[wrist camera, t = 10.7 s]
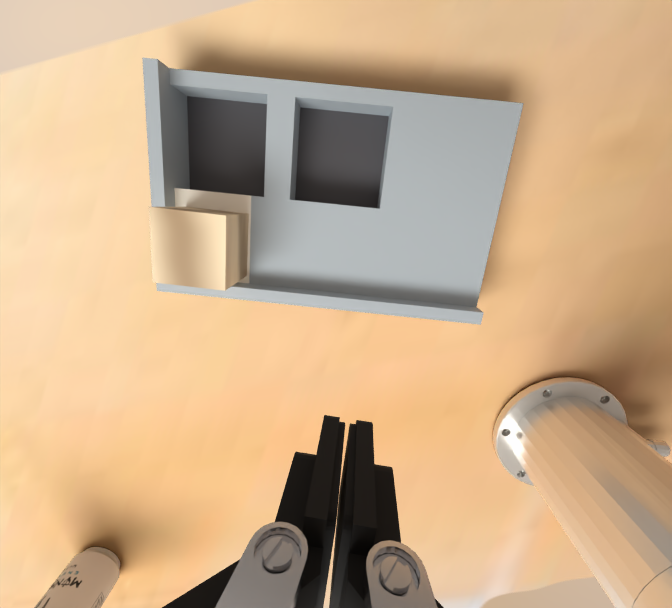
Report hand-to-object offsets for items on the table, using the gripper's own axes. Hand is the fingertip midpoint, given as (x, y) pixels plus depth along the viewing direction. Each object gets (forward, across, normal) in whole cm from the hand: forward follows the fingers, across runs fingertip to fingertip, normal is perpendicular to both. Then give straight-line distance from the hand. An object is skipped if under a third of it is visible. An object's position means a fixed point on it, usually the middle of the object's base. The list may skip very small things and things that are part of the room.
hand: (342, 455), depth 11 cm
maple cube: (+17, +12, -4) cm, 21 cm away
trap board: (+20, +3, -9) cm, 22 cm away
